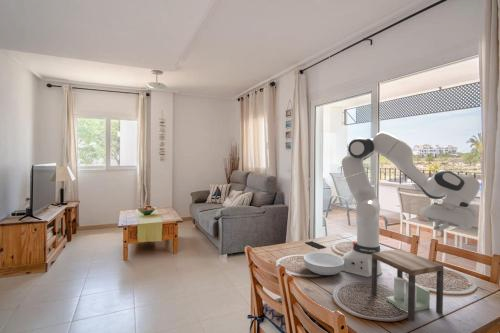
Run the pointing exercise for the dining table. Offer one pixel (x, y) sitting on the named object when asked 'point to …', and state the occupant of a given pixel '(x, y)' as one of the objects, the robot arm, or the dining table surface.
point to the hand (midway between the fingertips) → (437, 230)
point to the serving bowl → (323, 263)
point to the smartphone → (315, 245)
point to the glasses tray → (420, 300)
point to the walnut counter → (412, 267)
